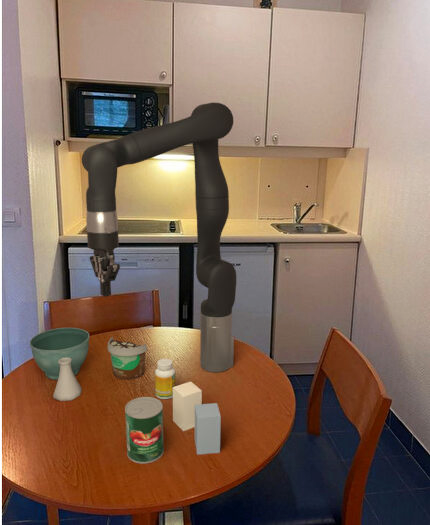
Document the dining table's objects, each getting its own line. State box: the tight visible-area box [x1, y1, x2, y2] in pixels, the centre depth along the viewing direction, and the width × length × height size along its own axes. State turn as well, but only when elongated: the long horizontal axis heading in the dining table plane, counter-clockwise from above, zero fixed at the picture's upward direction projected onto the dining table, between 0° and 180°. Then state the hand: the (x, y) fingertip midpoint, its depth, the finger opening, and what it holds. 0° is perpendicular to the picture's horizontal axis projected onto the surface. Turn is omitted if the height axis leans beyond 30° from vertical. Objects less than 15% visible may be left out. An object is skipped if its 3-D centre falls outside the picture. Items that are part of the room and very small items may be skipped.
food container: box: [106, 336, 148, 381], centre depth 127 cm, size 12×6×10 cm, turn 68°
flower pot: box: [29, 327, 90, 381], centre depth 129 cm, size 16×16×11 cm
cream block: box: [172, 381, 203, 432], centre depth 106 cm, size 5×5×9 cm
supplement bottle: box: [154, 358, 176, 400], centre depth 118 cm, size 5×5×10 cm
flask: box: [52, 358, 83, 402], centre depth 118 cm, size 7×7×10 cm
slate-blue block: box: [194, 402, 222, 455], centre depth 98 cm, size 5×5×9 cm
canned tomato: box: [124, 396, 165, 465], centre depth 96 cm, size 8×8×11 cm
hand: (105, 295), depth 115 cm, fingers closed
